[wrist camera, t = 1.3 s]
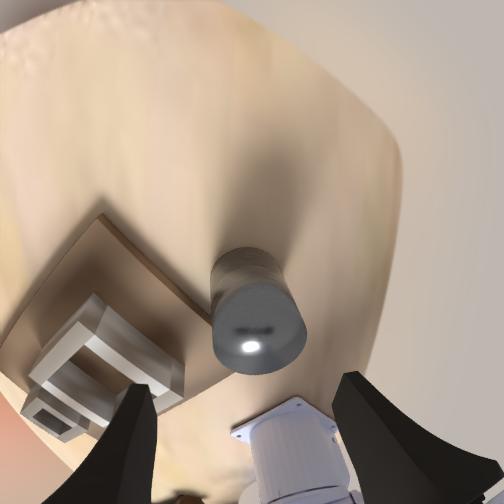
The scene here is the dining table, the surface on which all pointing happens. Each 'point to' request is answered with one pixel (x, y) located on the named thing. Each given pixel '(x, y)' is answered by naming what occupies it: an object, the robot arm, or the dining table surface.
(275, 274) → the gray metal cylinder
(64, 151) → the dining table surface
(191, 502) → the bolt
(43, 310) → the fitting board
